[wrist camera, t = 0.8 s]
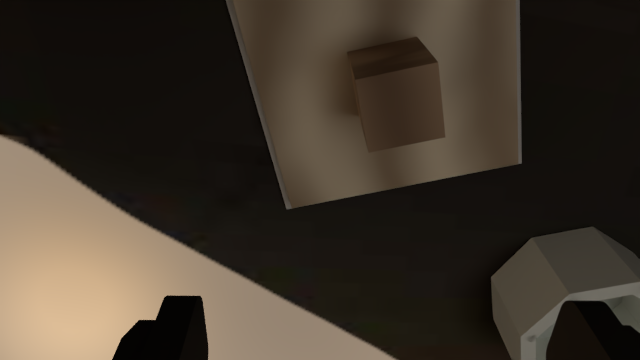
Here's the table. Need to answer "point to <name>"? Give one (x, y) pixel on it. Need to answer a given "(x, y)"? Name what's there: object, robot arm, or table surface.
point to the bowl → (561, 286)
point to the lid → (383, 90)
